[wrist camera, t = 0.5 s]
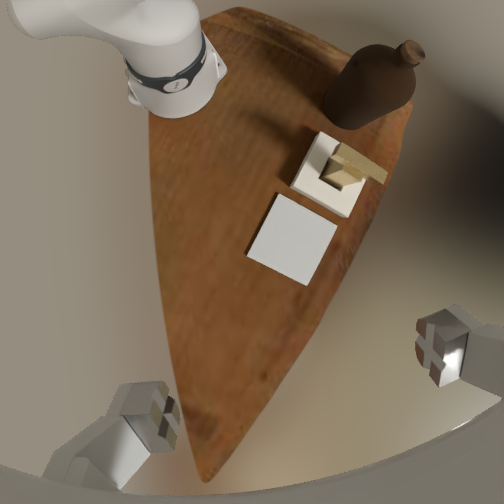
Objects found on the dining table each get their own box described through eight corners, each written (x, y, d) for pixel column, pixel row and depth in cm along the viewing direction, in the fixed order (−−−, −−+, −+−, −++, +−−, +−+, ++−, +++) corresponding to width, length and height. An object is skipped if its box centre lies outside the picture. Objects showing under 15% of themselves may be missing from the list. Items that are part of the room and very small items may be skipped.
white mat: (246, 255, 53) (246, 256, 53) (278, 193, 52) (279, 193, 52) (306, 285, 55) (306, 286, 54) (336, 226, 54) (337, 226, 53)
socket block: (289, 187, 53) (293, 185, 50) (316, 135, 52) (320, 131, 49) (341, 217, 54) (348, 217, 51) (365, 166, 53) (372, 163, 50)
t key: (306, 172, 52) (333, 158, 38) (314, 156, 52) (343, 137, 38) (343, 194, 53) (381, 188, 39) (351, 179, 53) (389, 168, 39)
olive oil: (335, 140, 52) (407, 94, 27) (310, 91, 51) (362, 19, 26) (379, 124, 53) (459, 81, 28) (354, 78, 51) (419, 15, 26)
